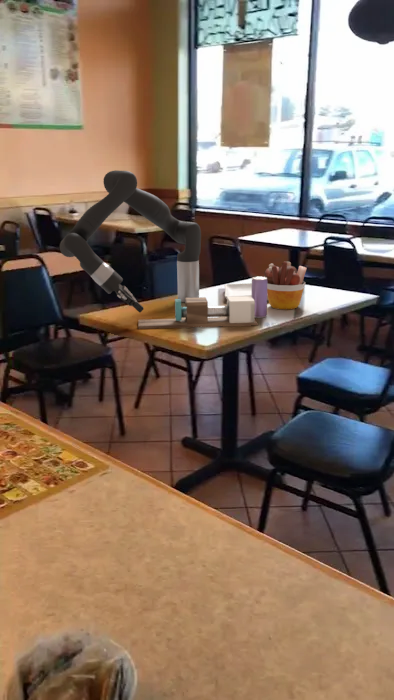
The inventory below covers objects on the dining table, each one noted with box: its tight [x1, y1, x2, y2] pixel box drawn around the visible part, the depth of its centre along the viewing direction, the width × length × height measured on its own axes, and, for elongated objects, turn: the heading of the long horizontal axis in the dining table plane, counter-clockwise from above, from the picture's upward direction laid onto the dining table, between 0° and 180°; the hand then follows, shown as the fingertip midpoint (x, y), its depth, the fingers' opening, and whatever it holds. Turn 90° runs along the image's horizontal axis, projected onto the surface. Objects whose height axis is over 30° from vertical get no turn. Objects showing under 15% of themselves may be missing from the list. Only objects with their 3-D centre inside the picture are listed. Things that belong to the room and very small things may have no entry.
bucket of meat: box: [264, 261, 307, 311], centre depth 257 cm, size 20×16×20 cm
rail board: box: [138, 296, 258, 330], centre depth 233 cm, size 10×43×9 cm, turn 94°
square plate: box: [224, 282, 269, 303], centre depth 281 cm, size 27×27×4 cm
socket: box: [226, 296, 255, 323], centre depth 234 cm, size 9×9×8 cm
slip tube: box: [174, 298, 229, 321], centre depth 233 cm, size 25×5×7 cm, turn 94°
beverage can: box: [251, 276, 268, 319], centre depth 242 cm, size 6×6×15 cm
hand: (141, 310), depth 231 cm, fingers closed
